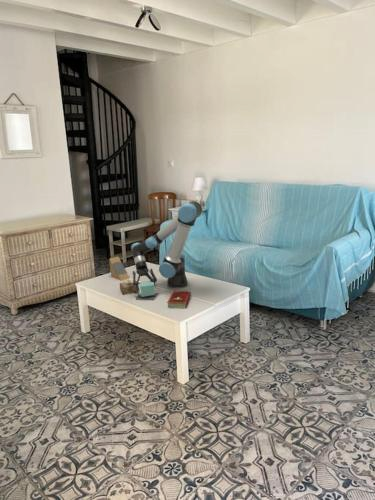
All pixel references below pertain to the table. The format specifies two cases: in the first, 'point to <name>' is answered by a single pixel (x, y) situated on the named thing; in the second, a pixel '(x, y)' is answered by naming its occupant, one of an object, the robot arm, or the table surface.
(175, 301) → the hardcover book
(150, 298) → the mat
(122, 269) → the sandwich container
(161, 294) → the table surface
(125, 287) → the walnut box
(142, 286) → the mint green cube
